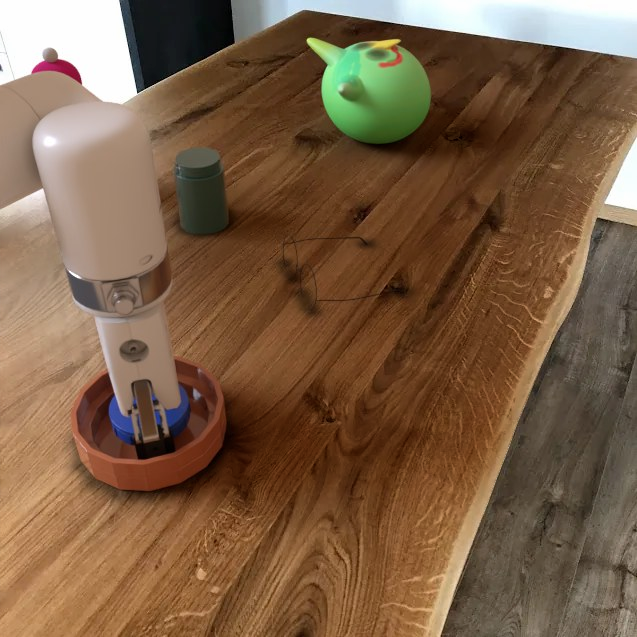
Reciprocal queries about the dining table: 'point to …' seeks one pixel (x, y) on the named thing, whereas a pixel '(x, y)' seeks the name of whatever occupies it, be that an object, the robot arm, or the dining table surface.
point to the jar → (201, 190)
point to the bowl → (121, 458)
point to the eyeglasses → (313, 273)
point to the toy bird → (373, 89)
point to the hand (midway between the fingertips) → (153, 430)
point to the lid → (174, 416)
